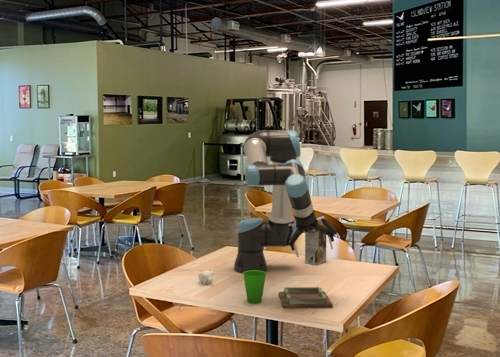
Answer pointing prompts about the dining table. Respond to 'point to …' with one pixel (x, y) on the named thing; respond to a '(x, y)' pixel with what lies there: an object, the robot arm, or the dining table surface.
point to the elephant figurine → (206, 276)
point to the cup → (254, 285)
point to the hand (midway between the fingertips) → (314, 250)
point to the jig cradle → (304, 298)
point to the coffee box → (315, 247)
